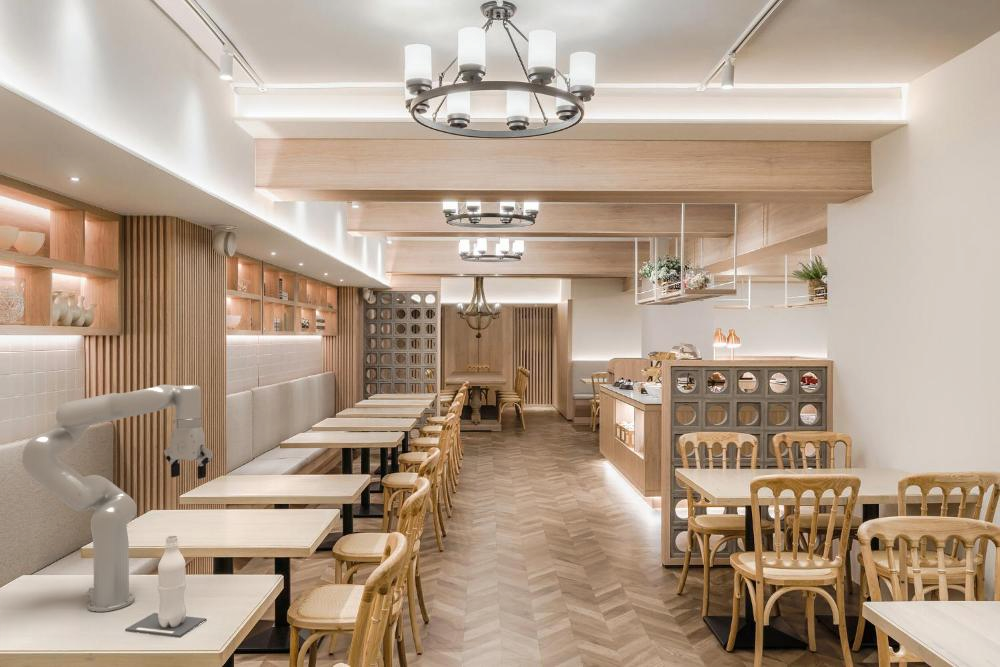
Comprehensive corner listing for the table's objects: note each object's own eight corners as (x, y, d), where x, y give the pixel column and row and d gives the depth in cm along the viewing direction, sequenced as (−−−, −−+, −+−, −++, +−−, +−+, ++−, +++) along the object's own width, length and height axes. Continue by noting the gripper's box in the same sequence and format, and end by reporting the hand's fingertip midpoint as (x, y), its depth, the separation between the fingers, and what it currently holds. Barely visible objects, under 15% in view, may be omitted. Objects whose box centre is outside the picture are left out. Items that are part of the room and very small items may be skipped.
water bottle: (174, 630, 185) (174, 541, 185) (152, 628, 186) (151, 540, 186) (191, 619, 192) (191, 534, 192) (170, 617, 193) (169, 532, 193)
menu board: (125, 631, 186) (125, 628, 186) (154, 614, 197) (154, 612, 197) (180, 637, 182) (180, 635, 182) (206, 620, 193) (206, 618, 193)
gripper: (156, 424, 209) (156, 478, 209) (203, 426, 205) (204, 481, 205) (173, 421, 216) (173, 473, 216) (219, 422, 212) (219, 475, 212)
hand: (188, 477), depth 210 cm, fingers open, 9 cm apart
